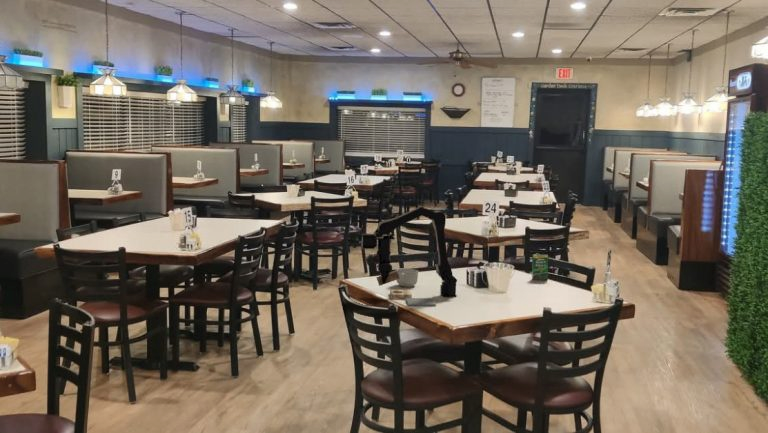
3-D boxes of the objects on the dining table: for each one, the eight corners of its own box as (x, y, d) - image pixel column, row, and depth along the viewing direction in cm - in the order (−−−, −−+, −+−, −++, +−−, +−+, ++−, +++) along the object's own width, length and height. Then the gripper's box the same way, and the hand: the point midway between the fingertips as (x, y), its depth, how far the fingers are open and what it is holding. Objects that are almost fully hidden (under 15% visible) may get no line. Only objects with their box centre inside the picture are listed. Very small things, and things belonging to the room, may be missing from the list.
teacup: (402, 282, 375) (403, 266, 374) (422, 285, 369) (422, 269, 368) (388, 287, 363) (389, 271, 362) (408, 290, 357) (408, 273, 356)
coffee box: (532, 279, 387) (533, 255, 386) (531, 278, 390) (532, 254, 389) (547, 280, 387) (548, 255, 385) (546, 279, 390) (547, 254, 388)
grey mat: (432, 299, 338) (432, 298, 338) (435, 306, 326) (435, 304, 326) (405, 299, 337) (405, 298, 337) (408, 306, 325) (408, 304, 325)
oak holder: (409, 294, 349) (409, 289, 349) (411, 298, 339) (411, 294, 339) (390, 293, 349) (390, 289, 348) (391, 298, 339) (391, 294, 338)
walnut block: (396, 269, 344) (376, 277, 344) (397, 271, 341) (376, 278, 340) (399, 277, 345) (378, 284, 344) (399, 278, 341) (379, 285, 341)
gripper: (365, 245, 349) (364, 278, 351) (367, 252, 331) (366, 286, 333) (389, 245, 350) (388, 278, 352) (392, 252, 332) (391, 286, 334)
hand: (383, 282), depth 343 cm, fingers closed on walnut block, 3 cm apart
